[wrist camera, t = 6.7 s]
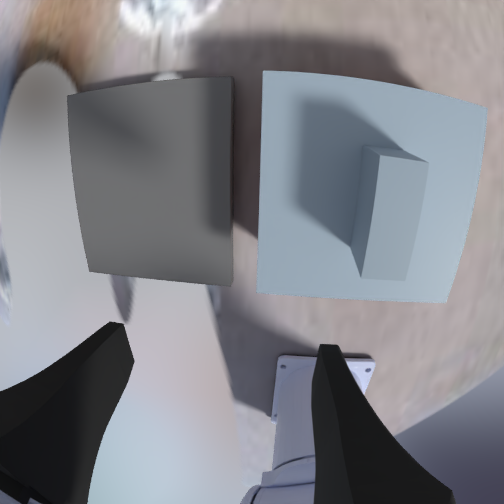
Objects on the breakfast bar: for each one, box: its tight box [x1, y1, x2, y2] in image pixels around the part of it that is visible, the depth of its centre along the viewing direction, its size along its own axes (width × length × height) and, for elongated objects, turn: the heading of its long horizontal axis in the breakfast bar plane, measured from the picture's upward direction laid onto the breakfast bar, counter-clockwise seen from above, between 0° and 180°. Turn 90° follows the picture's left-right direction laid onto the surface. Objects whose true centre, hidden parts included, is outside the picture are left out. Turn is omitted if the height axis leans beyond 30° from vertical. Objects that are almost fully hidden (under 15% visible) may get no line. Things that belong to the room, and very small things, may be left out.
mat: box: [67, 77, 234, 286], centre depth 19 cm, size 13×11×1 cm
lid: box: [256, 71, 488, 303], centre depth 13 cm, size 11×11×4 cm
